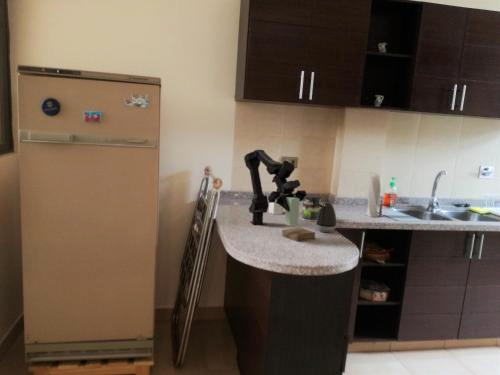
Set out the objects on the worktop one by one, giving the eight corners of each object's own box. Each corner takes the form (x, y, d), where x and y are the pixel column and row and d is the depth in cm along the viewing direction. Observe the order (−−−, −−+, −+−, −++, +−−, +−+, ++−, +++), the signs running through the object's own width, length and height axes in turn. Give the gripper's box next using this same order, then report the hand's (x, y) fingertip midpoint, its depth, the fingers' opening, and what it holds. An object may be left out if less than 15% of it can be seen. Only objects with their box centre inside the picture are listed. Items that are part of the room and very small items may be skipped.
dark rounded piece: (314, 228, 205) (315, 200, 202) (333, 229, 204) (335, 201, 202) (316, 233, 194) (318, 203, 192) (337, 234, 194) (339, 204, 192)
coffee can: (313, 222, 219) (314, 197, 217) (298, 219, 226) (299, 195, 224) (323, 219, 227) (324, 196, 225) (308, 216, 234) (309, 193, 232)
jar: (281, 211, 246) (282, 193, 244) (284, 214, 238) (285, 195, 236) (267, 211, 245) (268, 192, 244) (269, 214, 237) (270, 194, 235)
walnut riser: (281, 237, 186) (282, 230, 186) (298, 234, 193) (299, 227, 192) (297, 242, 177) (298, 235, 177) (314, 239, 184) (315, 232, 183)
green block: (284, 223, 182) (286, 197, 181) (292, 222, 184) (294, 197, 183) (289, 225, 178) (291, 199, 177) (298, 225, 180) (299, 198, 179)
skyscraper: (371, 218, 239) (374, 173, 235) (362, 215, 246) (366, 171, 242) (382, 217, 242) (386, 173, 238) (373, 215, 249) (377, 171, 245)
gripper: (272, 174, 177) (284, 202, 169) (305, 173, 186) (318, 200, 178) (263, 188, 185) (273, 215, 177) (295, 187, 194) (307, 213, 186)
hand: (293, 211), depth 179 cm, fingers closed on green block, 4 cm apart
